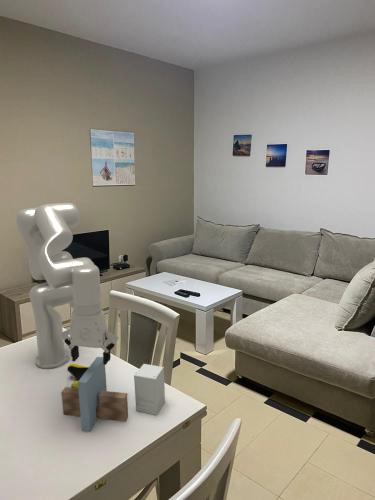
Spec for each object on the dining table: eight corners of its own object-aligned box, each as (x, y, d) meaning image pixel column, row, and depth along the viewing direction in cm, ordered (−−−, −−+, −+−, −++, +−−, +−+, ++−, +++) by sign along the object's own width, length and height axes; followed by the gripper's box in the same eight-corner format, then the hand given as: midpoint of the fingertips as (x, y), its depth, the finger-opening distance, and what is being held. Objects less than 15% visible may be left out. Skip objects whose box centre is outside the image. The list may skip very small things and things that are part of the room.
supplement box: (165, 401, 124) (165, 366, 121) (156, 415, 117) (155, 379, 114) (145, 397, 126) (143, 362, 123) (134, 410, 119) (133, 374, 116)
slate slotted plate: (100, 401, 124) (97, 356, 120) (107, 401, 124) (104, 357, 120) (81, 430, 111) (77, 381, 107) (90, 431, 110) (86, 382, 106)
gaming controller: (72, 400, 125) (103, 392, 129) (71, 385, 124) (102, 378, 127) (67, 376, 138) (95, 370, 142) (66, 363, 137) (94, 357, 141)
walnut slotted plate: (63, 414, 118) (61, 391, 116) (67, 409, 120) (65, 387, 118) (125, 421, 114) (124, 398, 112) (128, 416, 117) (127, 393, 115)
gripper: (53, 310, 107) (57, 364, 111) (112, 315, 104) (114, 370, 108) (65, 300, 114) (69, 351, 118) (121, 304, 111) (123, 357, 115)
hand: (91, 360), depth 113 cm, fingers open, 9 cm apart
